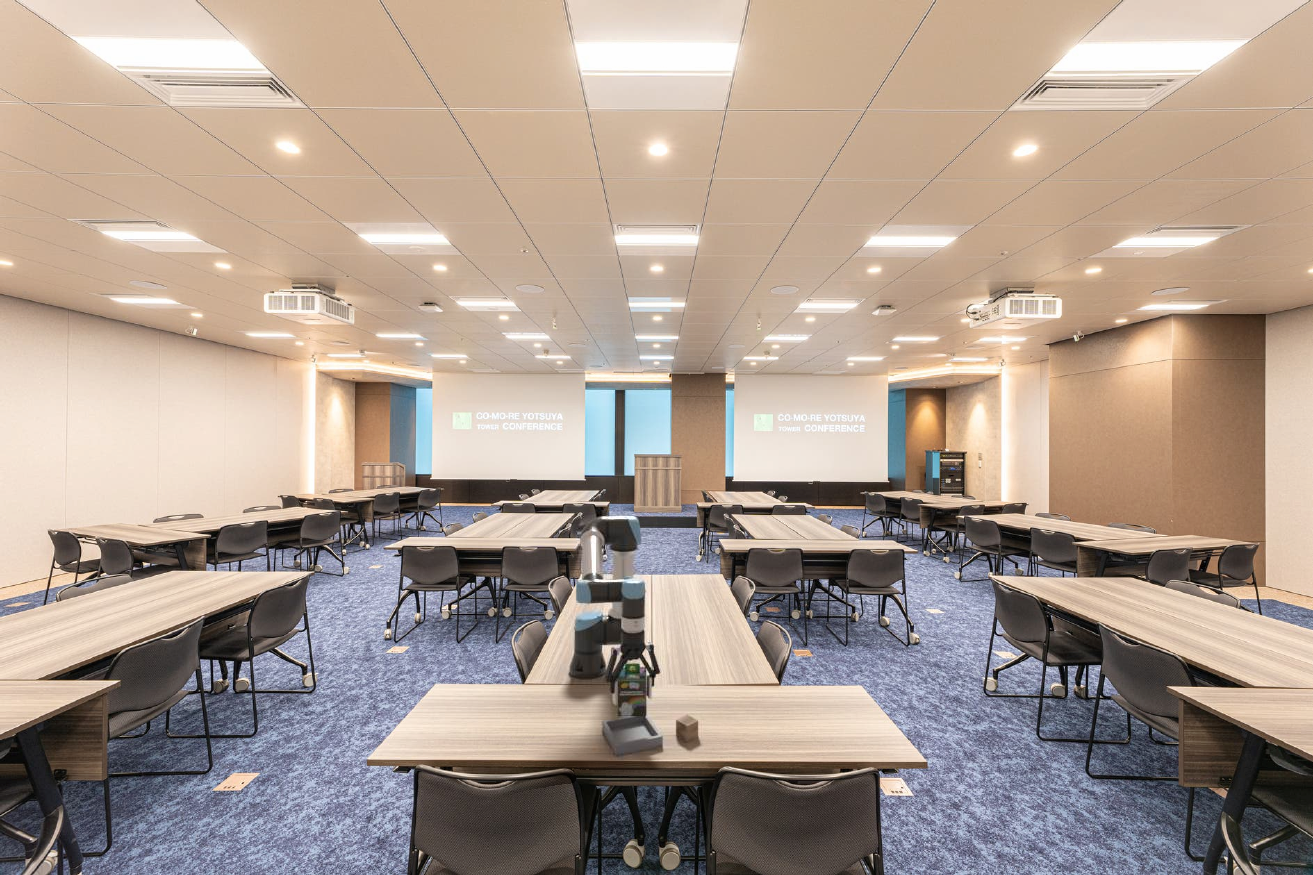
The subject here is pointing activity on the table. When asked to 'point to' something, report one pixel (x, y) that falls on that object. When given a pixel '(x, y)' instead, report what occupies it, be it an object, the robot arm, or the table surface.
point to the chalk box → (632, 691)
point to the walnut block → (687, 728)
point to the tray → (631, 734)
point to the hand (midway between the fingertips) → (632, 699)
